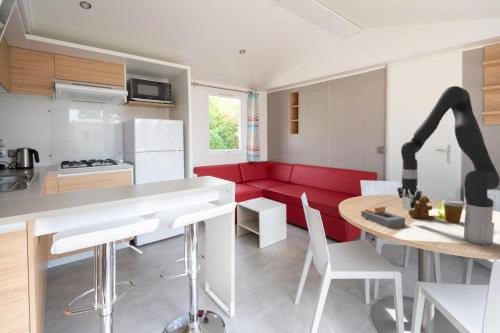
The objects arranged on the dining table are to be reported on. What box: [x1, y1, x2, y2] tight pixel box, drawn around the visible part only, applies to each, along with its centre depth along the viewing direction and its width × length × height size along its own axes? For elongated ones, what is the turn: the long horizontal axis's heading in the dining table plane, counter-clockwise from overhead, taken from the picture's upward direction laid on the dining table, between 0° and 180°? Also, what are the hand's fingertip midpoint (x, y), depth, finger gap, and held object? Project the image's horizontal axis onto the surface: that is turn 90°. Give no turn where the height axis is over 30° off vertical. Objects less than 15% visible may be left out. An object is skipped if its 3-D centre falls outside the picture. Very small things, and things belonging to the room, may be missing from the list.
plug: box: [402, 195, 415, 212], centre depth 143 cm, size 4×4×8 cm
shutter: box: [364, 206, 386, 214], centre depth 152 cm, size 8×7×4 cm
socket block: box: [360, 209, 406, 229], centre depth 147 cm, size 20×12×4 cm, turn 18°
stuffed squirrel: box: [408, 195, 436, 220], centre depth 152 cm, size 10×14×13 cm
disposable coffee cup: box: [442, 198, 466, 224], centre depth 143 cm, size 10×10×12 cm
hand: (408, 206), depth 143 cm, fingers closed on plug, 4 cm apart
